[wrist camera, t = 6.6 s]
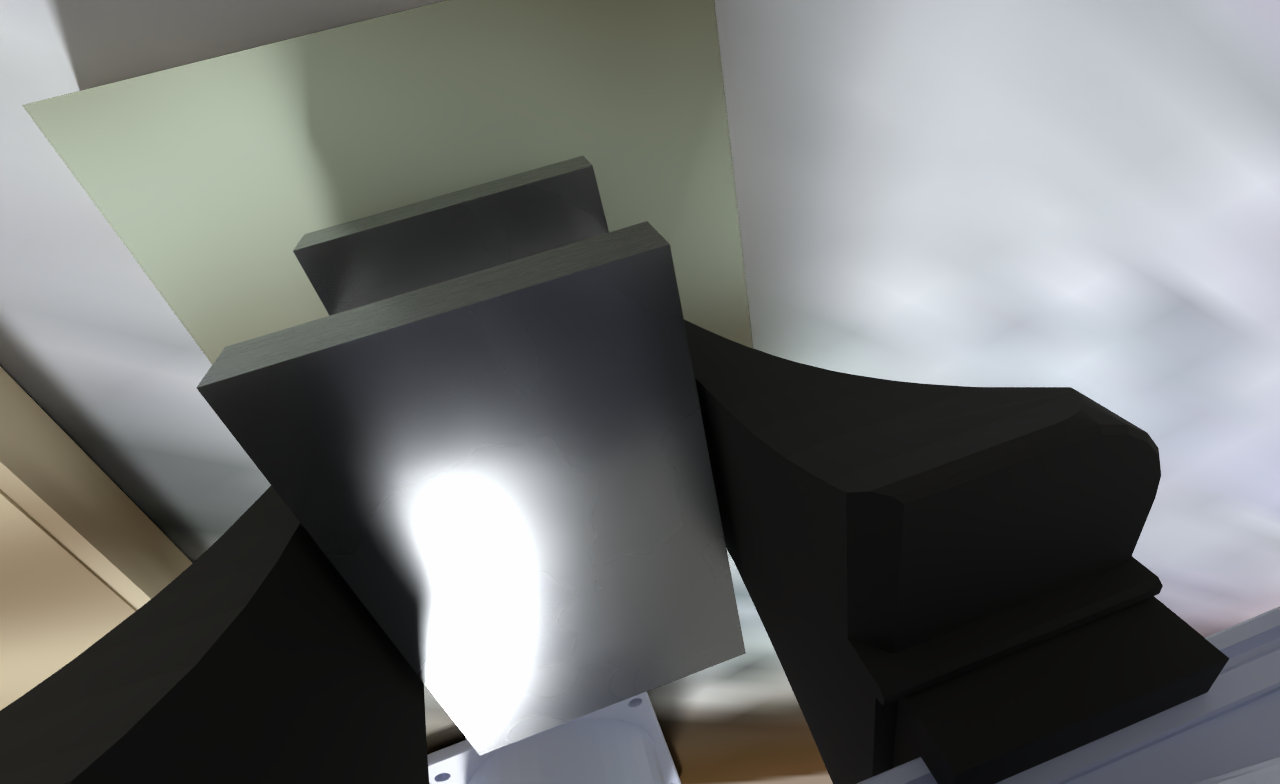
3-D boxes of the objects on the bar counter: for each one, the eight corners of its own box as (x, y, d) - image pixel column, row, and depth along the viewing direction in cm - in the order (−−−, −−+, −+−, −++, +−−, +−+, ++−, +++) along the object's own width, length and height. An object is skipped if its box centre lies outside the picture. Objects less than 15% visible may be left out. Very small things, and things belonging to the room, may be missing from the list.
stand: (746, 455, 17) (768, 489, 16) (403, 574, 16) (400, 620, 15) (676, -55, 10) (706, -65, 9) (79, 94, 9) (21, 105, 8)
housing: (663, 475, 13) (745, 653, 10) (471, 541, 13) (479, 755, 9) (582, 155, 9) (669, 243, 6) (304, 234, 9) (197, 388, 5)
